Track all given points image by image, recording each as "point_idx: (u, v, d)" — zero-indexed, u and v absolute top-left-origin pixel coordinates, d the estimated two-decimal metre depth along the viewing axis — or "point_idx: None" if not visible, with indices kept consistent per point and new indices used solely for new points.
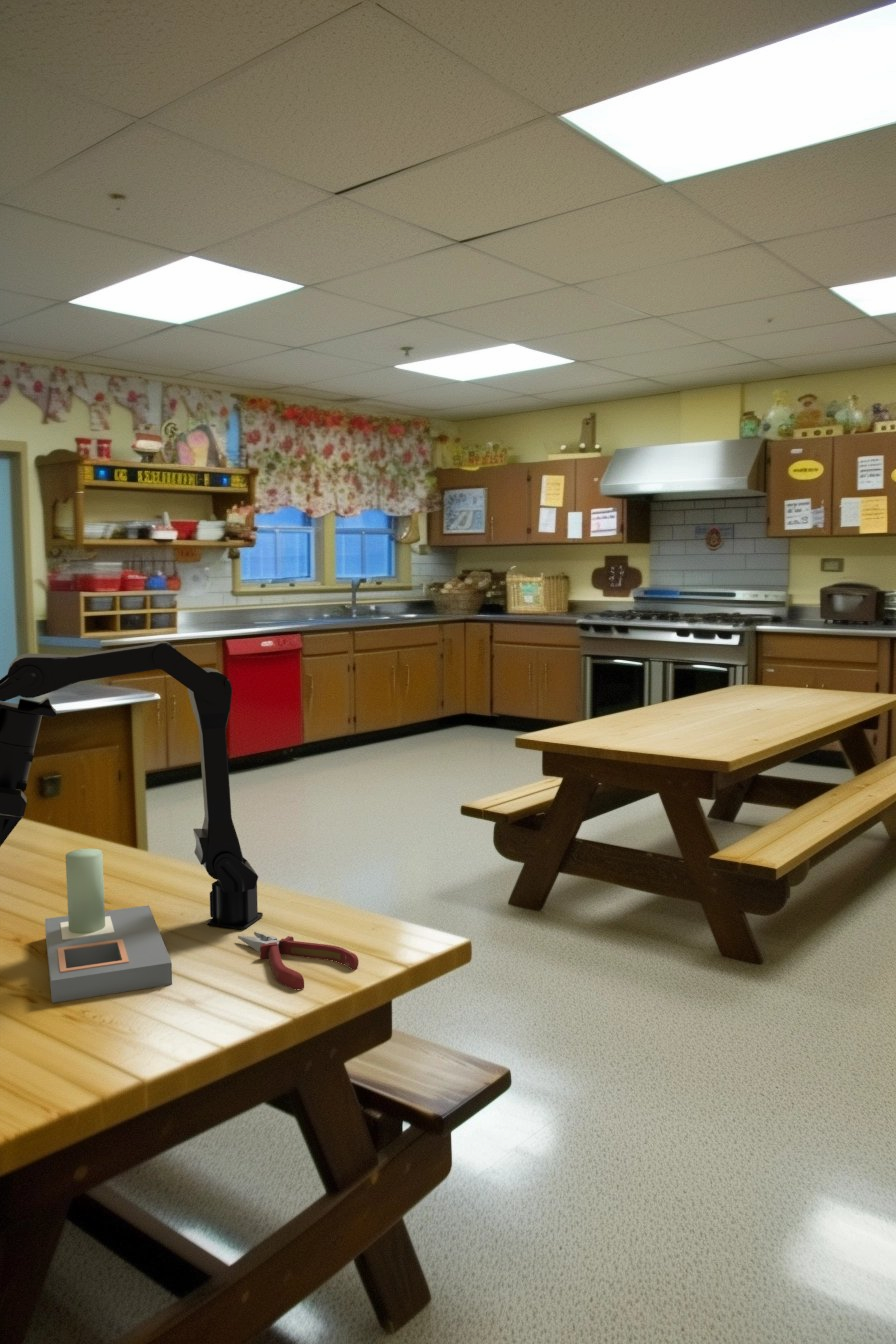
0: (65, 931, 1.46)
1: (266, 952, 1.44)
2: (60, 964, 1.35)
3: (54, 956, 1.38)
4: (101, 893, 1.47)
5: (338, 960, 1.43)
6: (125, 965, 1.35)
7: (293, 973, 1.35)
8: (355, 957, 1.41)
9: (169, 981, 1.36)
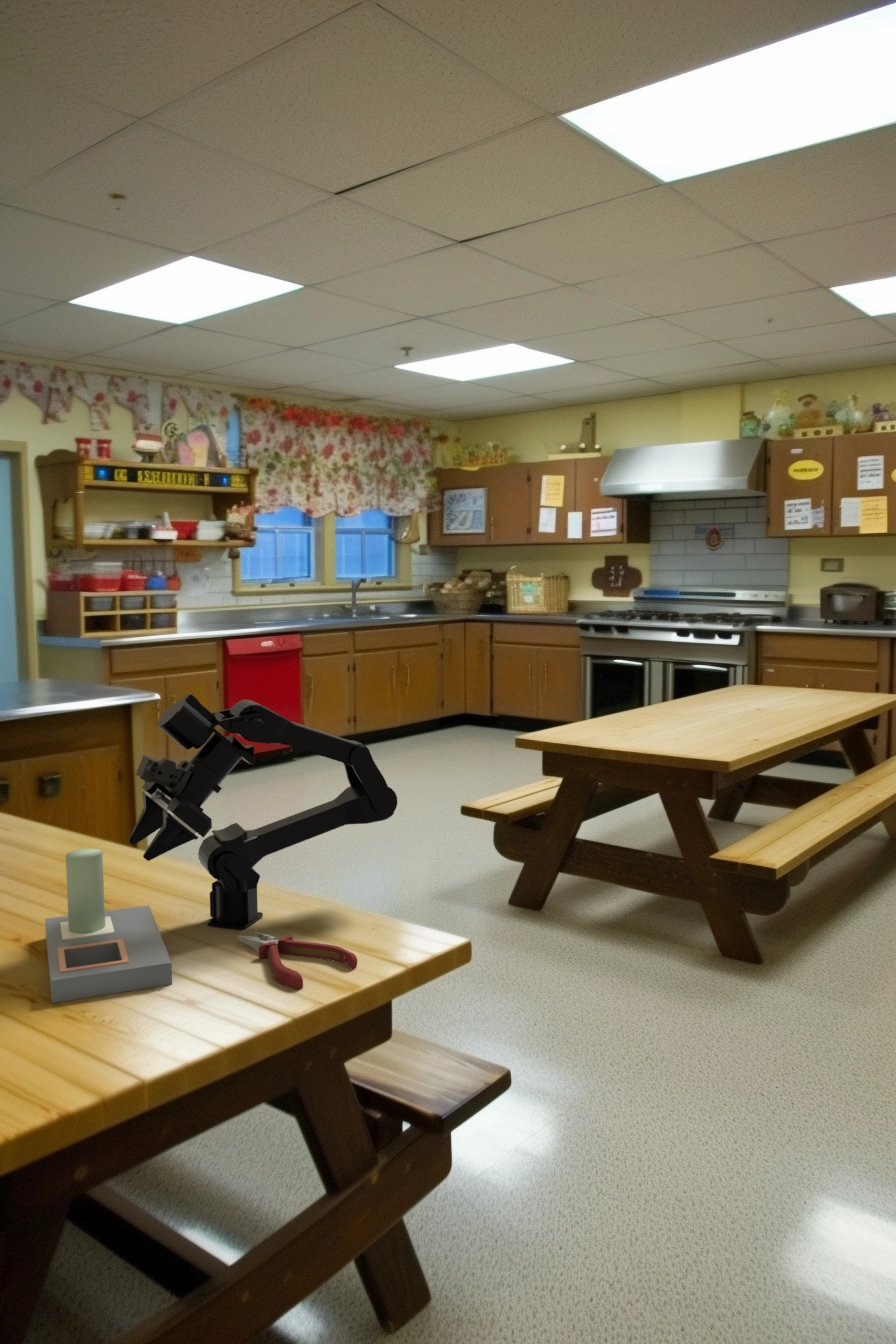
0: (65, 931, 1.46)
1: (265, 952, 1.45)
2: (60, 964, 1.35)
3: (54, 956, 1.38)
4: (101, 893, 1.47)
5: (337, 960, 1.44)
6: (125, 965, 1.35)
7: (292, 973, 1.35)
8: (354, 957, 1.41)
9: (169, 981, 1.36)
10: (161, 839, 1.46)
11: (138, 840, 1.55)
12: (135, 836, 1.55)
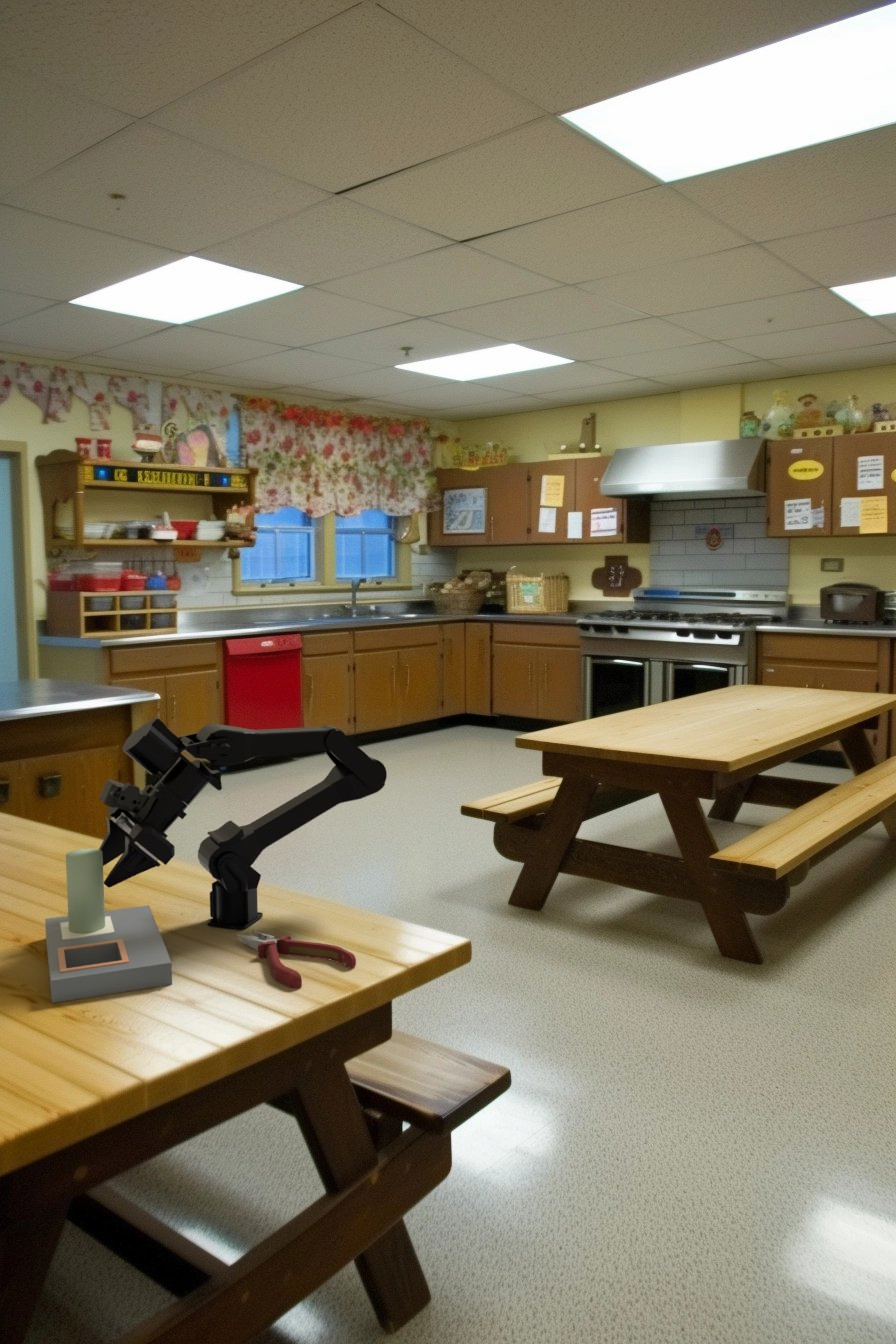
0: (65, 931, 1.46)
1: (264, 951, 1.45)
2: (60, 964, 1.35)
3: (54, 956, 1.38)
4: (101, 893, 1.47)
5: (336, 959, 1.44)
6: (125, 965, 1.35)
7: (291, 972, 1.36)
8: (353, 956, 1.42)
9: (169, 981, 1.36)
10: (123, 866, 1.44)
11: None
12: None
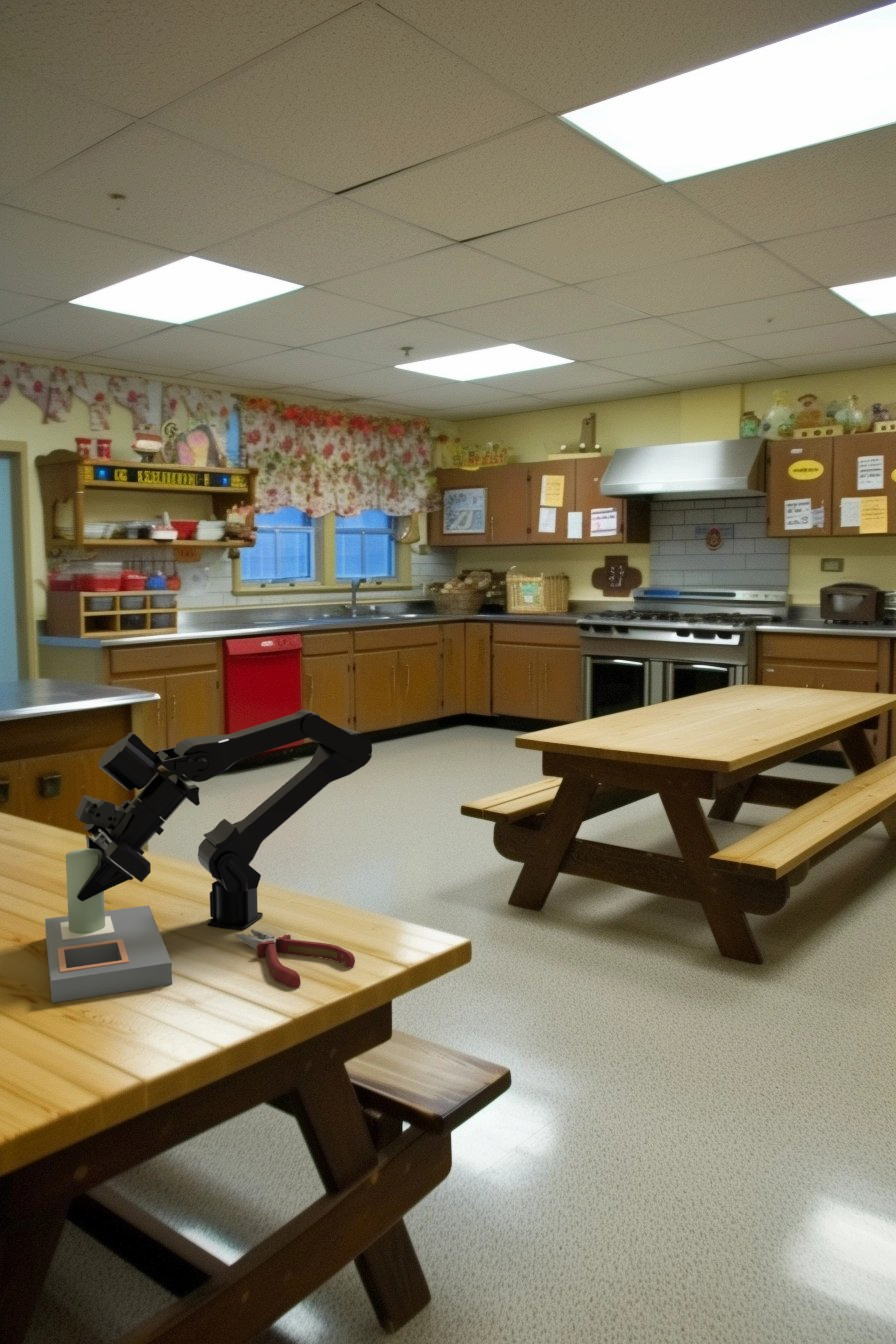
0: (65, 931, 1.46)
1: (263, 950, 1.45)
2: (60, 964, 1.35)
3: (54, 956, 1.38)
4: (101, 893, 1.47)
5: (335, 958, 1.44)
6: (125, 965, 1.35)
7: (289, 971, 1.36)
8: (351, 956, 1.42)
9: (169, 981, 1.36)
10: (95, 879, 1.44)
11: None
12: None
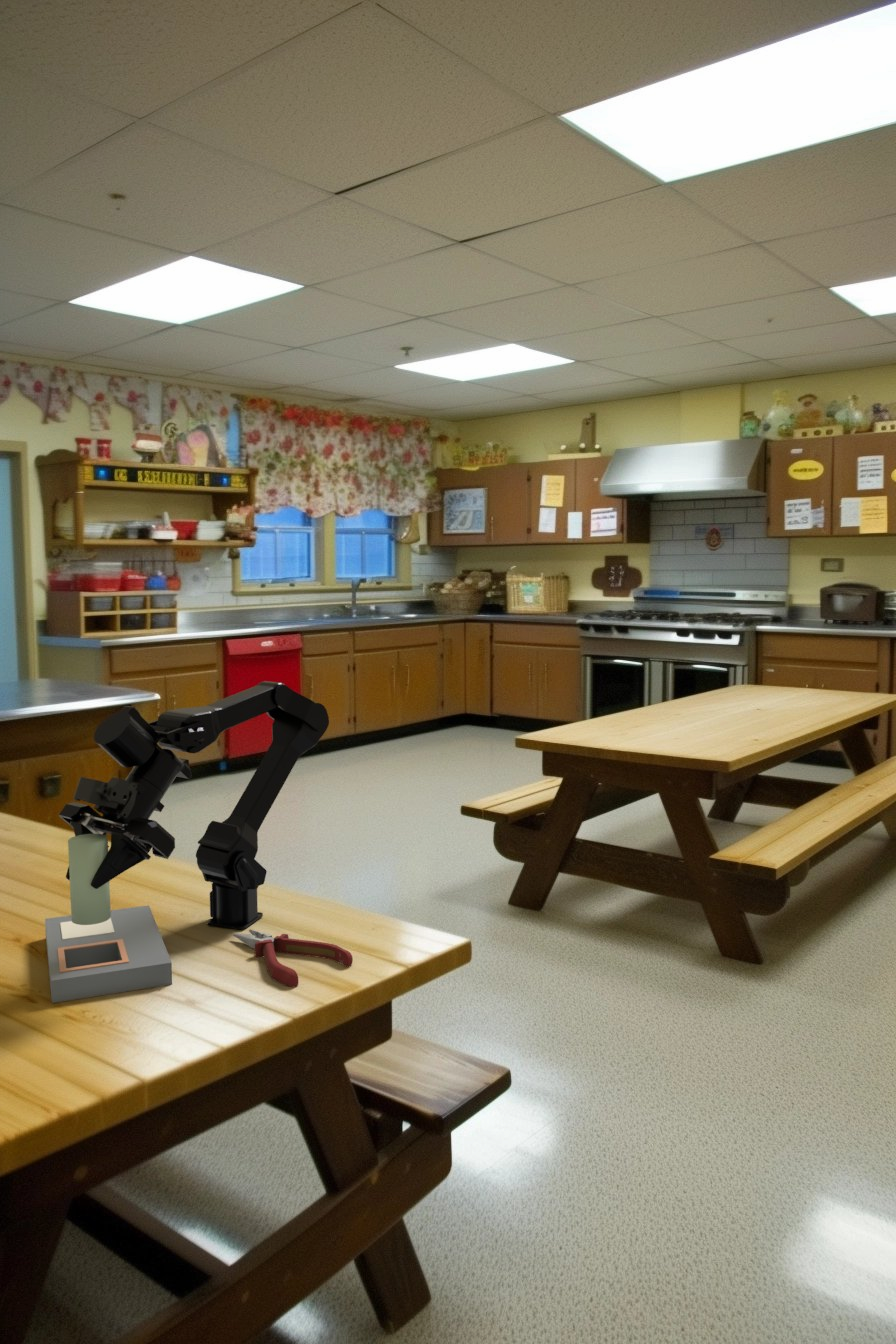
0: (65, 931, 1.46)
1: (261, 949, 1.45)
2: (60, 964, 1.35)
3: (54, 956, 1.38)
4: None
5: (332, 957, 1.44)
6: (125, 965, 1.35)
7: (287, 970, 1.36)
8: (349, 954, 1.42)
9: (169, 981, 1.36)
10: (111, 863, 1.35)
11: None
12: None
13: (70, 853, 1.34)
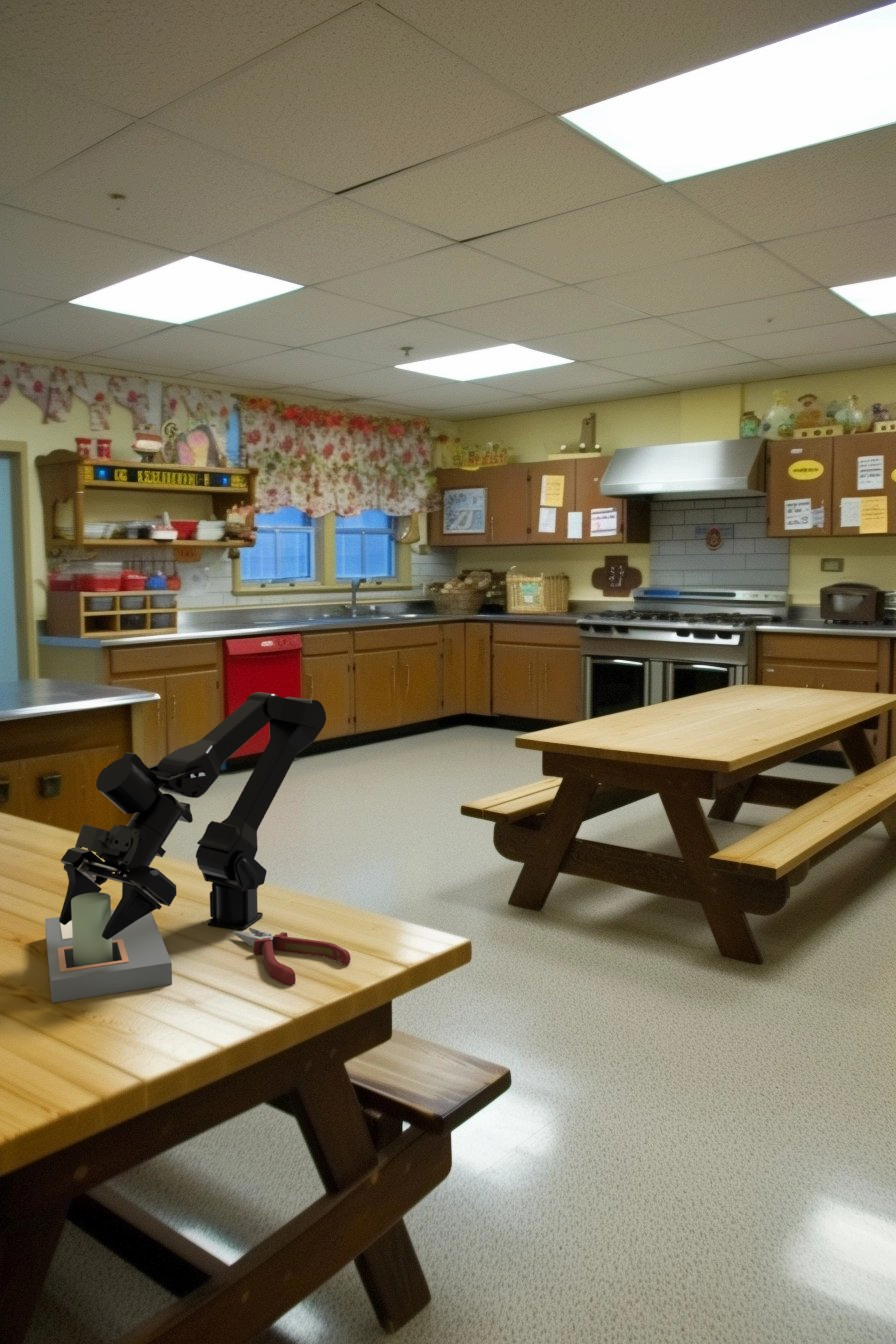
0: (65, 931, 1.46)
1: (260, 947, 1.46)
2: (60, 964, 1.35)
3: (54, 956, 1.38)
4: (111, 938, 1.38)
5: (331, 956, 1.45)
6: (125, 965, 1.35)
7: (285, 968, 1.37)
8: (347, 953, 1.42)
9: (169, 981, 1.36)
10: (122, 914, 1.34)
11: (70, 919, 1.40)
12: (67, 915, 1.39)
13: (73, 913, 1.35)
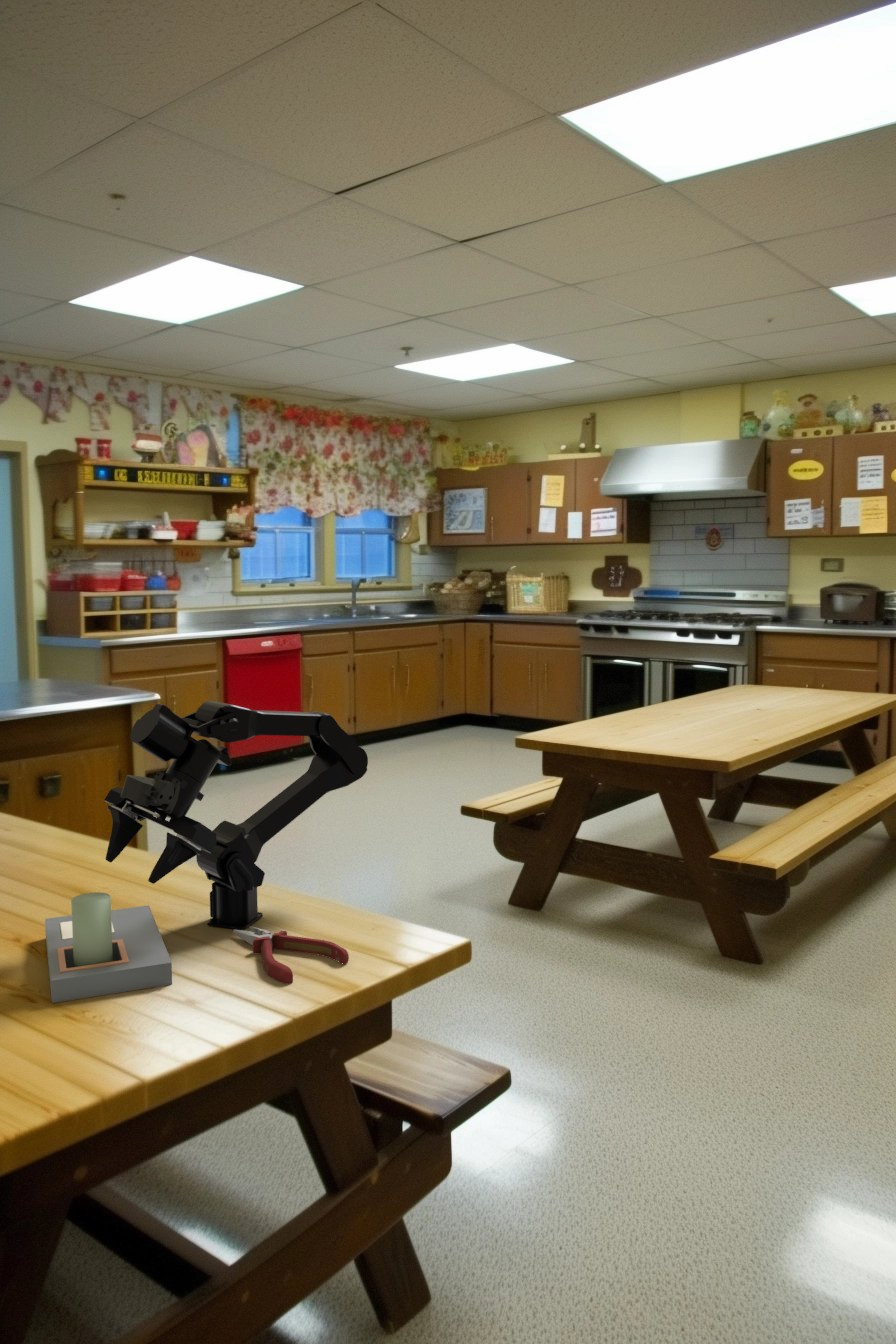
0: (65, 931, 1.46)
1: (259, 946, 1.46)
2: (60, 964, 1.35)
3: (54, 956, 1.38)
4: None
5: (329, 955, 1.45)
6: (125, 965, 1.35)
7: (282, 967, 1.37)
8: (345, 952, 1.43)
9: (169, 981, 1.36)
10: (167, 861, 1.44)
11: (115, 856, 1.49)
12: (112, 853, 1.48)
13: (73, 913, 1.35)
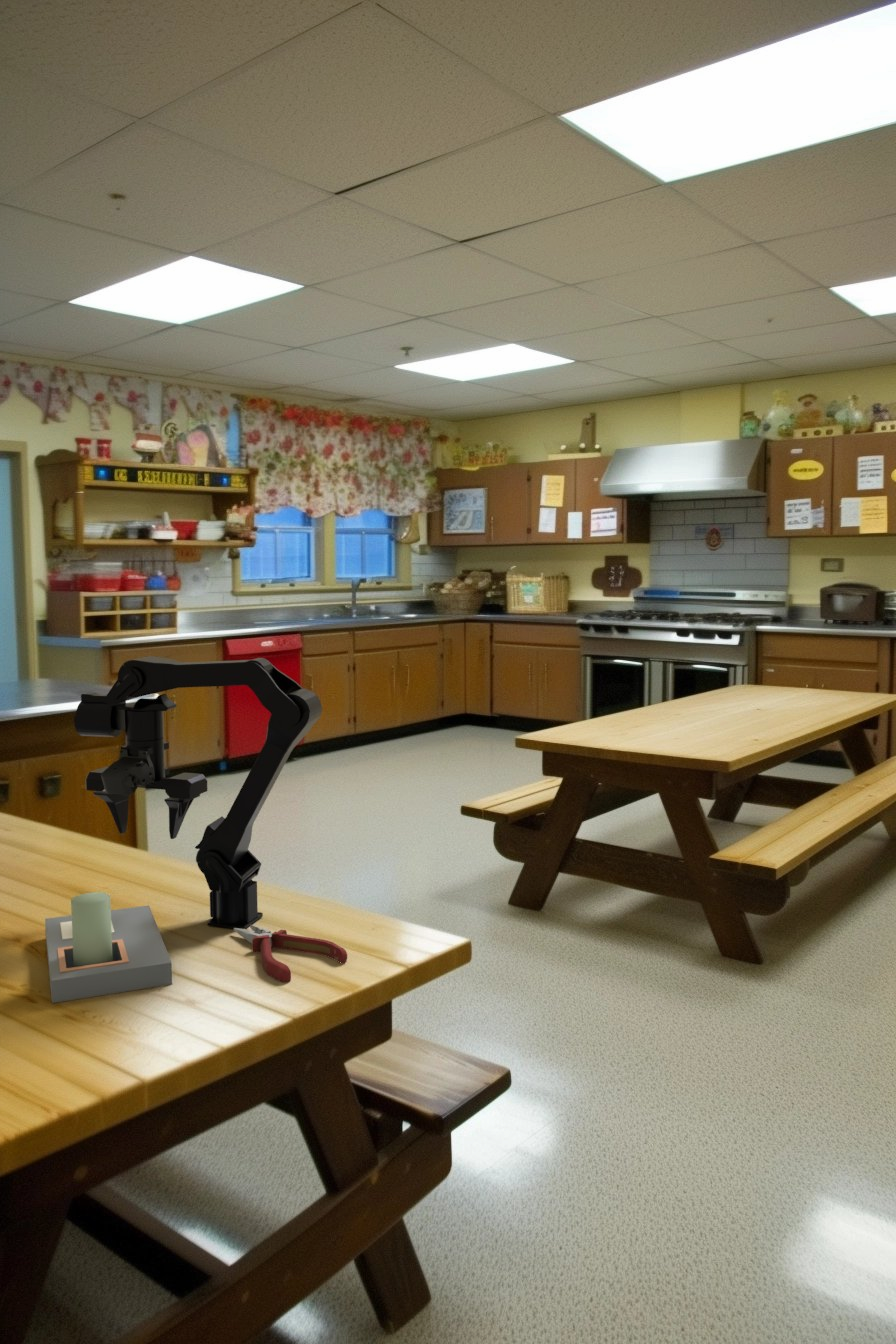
0: (65, 931, 1.46)
1: (258, 944, 1.47)
2: (60, 964, 1.35)
3: (54, 956, 1.38)
4: (111, 938, 1.38)
5: (328, 954, 1.45)
6: (125, 965, 1.35)
7: (280, 965, 1.38)
8: (344, 952, 1.43)
9: (169, 981, 1.36)
10: (177, 817, 1.57)
11: (126, 826, 1.62)
12: (123, 826, 1.61)
13: (73, 913, 1.35)
